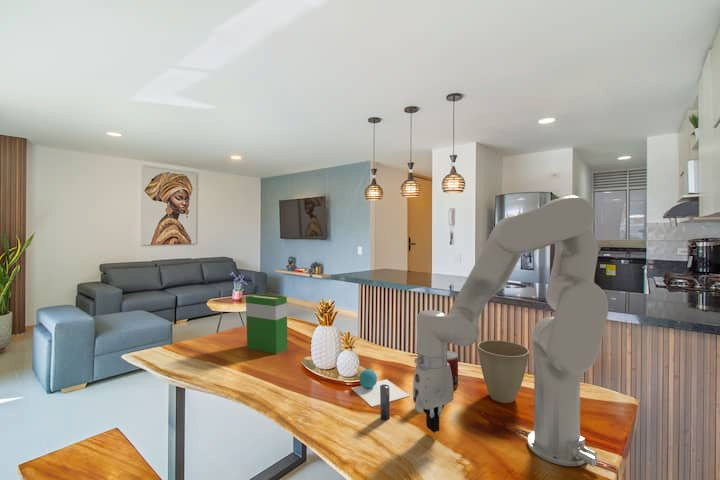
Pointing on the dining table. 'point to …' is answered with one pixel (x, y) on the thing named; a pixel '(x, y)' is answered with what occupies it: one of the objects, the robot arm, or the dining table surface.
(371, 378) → the teal sphere
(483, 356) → the plant pot
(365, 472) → the dining table surface
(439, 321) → the robot arm
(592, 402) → the dining table surface
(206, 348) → the dining table surface
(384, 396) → the left post
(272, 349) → the green cereal box
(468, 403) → the dining table surface
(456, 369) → the canned food
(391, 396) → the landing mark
